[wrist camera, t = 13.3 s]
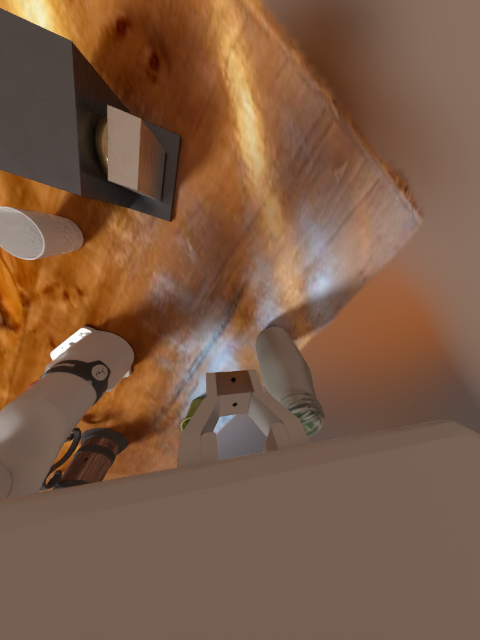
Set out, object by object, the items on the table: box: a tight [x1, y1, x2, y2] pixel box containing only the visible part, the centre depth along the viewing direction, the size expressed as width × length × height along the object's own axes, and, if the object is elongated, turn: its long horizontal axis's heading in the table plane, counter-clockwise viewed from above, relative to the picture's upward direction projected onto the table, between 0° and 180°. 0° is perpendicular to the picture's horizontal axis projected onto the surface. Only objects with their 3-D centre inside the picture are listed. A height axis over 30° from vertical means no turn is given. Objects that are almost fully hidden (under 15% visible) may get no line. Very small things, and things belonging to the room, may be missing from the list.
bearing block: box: [0, 8, 181, 222], centre depth 27 cm, size 19×14×14 cm
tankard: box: [40, 428, 128, 490], centre depth 59 cm, size 24×17×20 cm
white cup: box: [0, 206, 84, 260], centre depth 34 cm, size 8×8×10 cm
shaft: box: [95, 105, 165, 201], centre depth 27 cm, size 22×8×10 cm, turn 73°
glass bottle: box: [256, 326, 324, 437], centre depth 40 cm, size 10×10×28 cm
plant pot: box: [181, 398, 203, 431], centre depth 59 cm, size 9×9×9 cm
